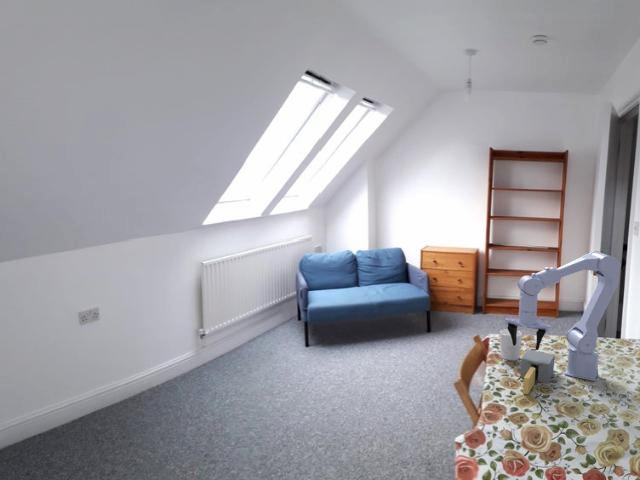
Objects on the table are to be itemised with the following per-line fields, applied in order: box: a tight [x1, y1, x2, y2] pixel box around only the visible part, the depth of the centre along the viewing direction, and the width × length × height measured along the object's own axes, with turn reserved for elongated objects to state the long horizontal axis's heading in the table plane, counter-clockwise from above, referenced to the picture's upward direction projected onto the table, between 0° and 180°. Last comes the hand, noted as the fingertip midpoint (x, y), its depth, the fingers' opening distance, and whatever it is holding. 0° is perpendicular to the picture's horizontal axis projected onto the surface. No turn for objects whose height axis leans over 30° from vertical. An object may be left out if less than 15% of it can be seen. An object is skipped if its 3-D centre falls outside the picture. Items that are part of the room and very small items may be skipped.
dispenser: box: [519, 349, 555, 384], centre depth 169 cm, size 9×11×7 cm
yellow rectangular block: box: [522, 367, 536, 395], centre depth 159 cm, size 2×10×6 cm, turn 145°
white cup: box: [499, 328, 523, 361], centre depth 185 cm, size 8×8×10 cm
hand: (525, 346), depth 170 cm, fingers open, 7 cm apart
